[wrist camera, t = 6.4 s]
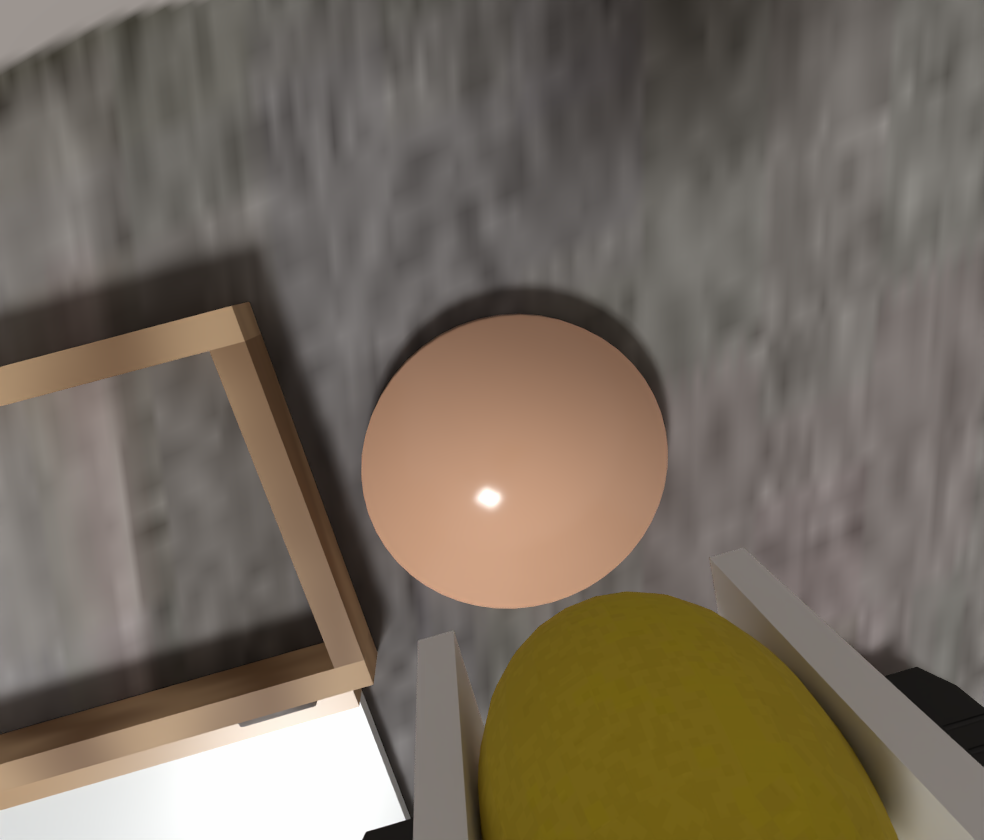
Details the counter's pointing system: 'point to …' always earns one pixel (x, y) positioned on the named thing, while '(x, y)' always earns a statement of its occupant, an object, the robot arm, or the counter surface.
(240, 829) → the lid
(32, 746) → the wooden frame
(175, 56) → the counter surface
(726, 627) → the lemon
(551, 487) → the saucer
